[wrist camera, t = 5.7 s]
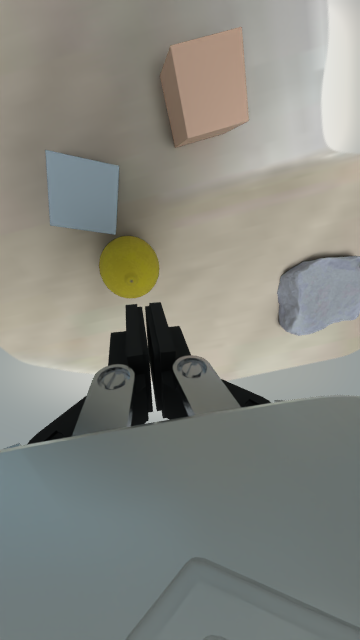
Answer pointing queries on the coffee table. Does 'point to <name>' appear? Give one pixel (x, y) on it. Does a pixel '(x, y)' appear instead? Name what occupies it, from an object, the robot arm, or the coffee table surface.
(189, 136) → the terracotta block
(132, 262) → the lemon
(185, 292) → the coffee table surface
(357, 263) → the stone block
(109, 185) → the slate block
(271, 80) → the coffee table surface
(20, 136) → the coffee table surface
